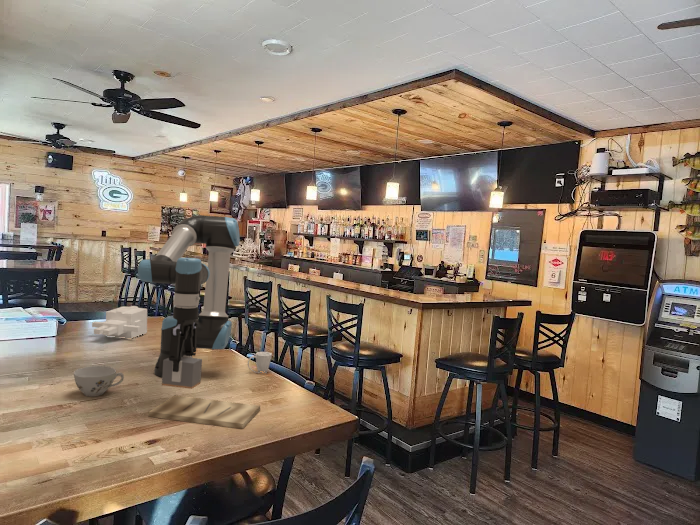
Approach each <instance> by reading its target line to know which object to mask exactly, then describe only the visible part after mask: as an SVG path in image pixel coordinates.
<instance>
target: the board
mask: <svg viewBox="0 0 700 525" xmlns="http://www.w3.org/2000/svg"><path fill="white" fill-rule="evenodd" d="M260 411H261V405H258V404H257V405H256V404H249V403H242V402H234V401H233V402H232V401H226V400H225V401H224V400H218V399H209V398H201V397H192V396H186V395H185V396H184V395H176V394H175V395H173V396H172V397H170V398H168V399H167V400H165V401H164V402H162V403H160V404H159V405H157V406H155V407H154V408H152V409H151V410H149V411H148V418H149V417H150V418H157V419H165V420H174V421H181V422H188V423H195V424H203V425H211V426H218V427H219V426H220V427H227V428H232V429H233V428H234V429H241V430H243V429H244V428H245V427H246V426H247V425H248V424H249V423H250V421H252V420H253V419H254V418H255V416H257V414H258V413H259V412H260Z"/></svg>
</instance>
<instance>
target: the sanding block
mask: <svg viewBox="0 0 700 525" xmlns="http://www.w3.org/2000/svg"><path fill="white" fill-rule="evenodd" d="M181 361H182V374H181V382H173V381H172V368H173V361H170V360H169V358H167V359H165V360H163V374H162V377H161V386H164V387H165V386H167V387H174V388H180V389H181V388H182V389H189V390H193V389H194V388H195V387H198V386H199V385H201V383H202V381H201V380H202V366H203V359H202V358H197V357H192V358H188V357H181Z"/></svg>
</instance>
